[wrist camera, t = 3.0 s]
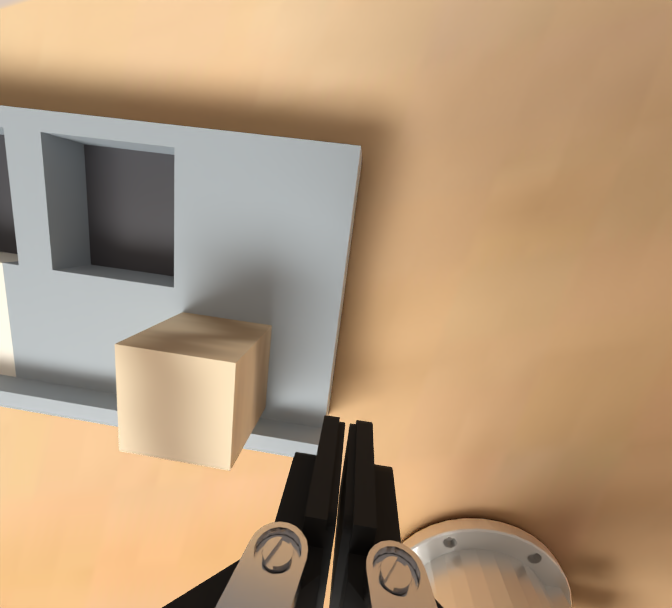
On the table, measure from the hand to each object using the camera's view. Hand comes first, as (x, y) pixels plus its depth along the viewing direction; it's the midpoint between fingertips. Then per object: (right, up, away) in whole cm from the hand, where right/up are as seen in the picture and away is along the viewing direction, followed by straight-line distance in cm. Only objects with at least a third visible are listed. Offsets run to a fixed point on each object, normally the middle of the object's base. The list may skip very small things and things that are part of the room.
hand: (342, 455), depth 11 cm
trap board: (-13, +7, +10) cm, 17 cm away
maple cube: (-6, +2, +7) cm, 10 cm away
